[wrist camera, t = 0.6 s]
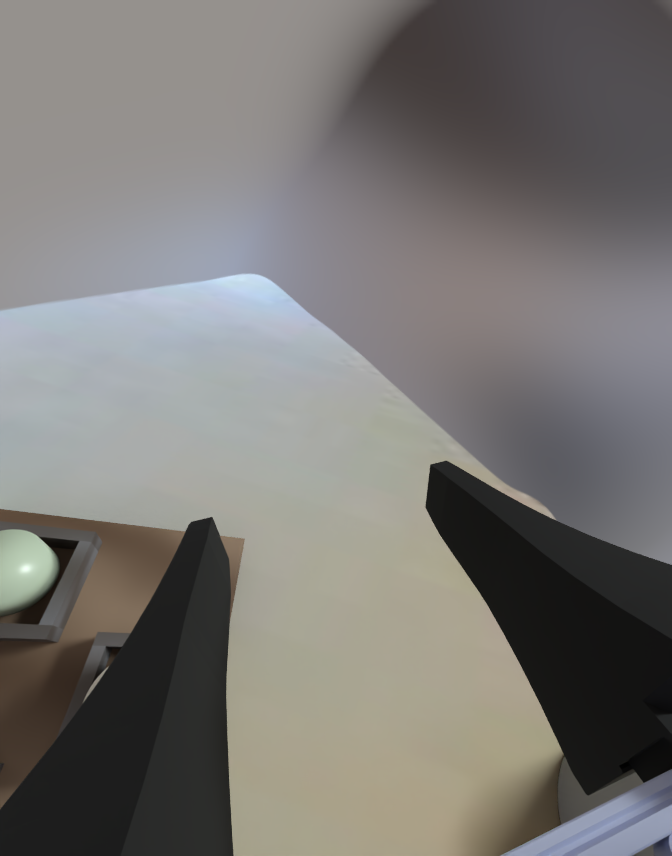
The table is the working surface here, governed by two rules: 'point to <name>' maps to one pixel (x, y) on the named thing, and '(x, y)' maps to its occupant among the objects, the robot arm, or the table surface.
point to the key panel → (75, 626)
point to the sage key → (24, 570)
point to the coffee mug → (590, 797)
